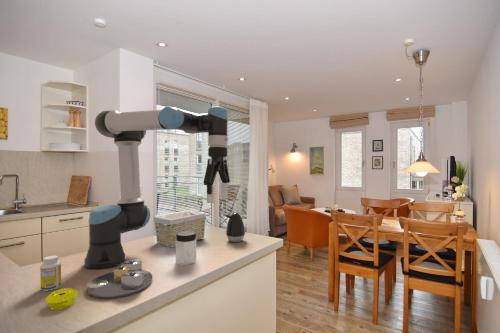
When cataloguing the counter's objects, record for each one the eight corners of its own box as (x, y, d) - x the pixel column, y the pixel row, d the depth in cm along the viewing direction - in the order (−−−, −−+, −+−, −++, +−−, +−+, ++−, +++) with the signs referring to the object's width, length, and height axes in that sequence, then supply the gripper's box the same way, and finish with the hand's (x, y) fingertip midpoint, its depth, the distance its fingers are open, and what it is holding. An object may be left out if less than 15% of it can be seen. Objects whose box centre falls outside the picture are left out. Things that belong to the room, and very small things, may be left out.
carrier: (72, 292, 87) (72, 273, 87) (122, 270, 106) (122, 253, 106) (120, 303, 80) (120, 282, 80) (164, 277, 99) (164, 260, 99)
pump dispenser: (223, 239, 150) (223, 211, 150) (242, 237, 153) (242, 210, 153) (228, 244, 140) (228, 214, 140) (247, 242, 143) (247, 213, 143)
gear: (70, 295, 85) (40, 306, 79) (70, 283, 85) (40, 293, 79) (83, 302, 81) (52, 314, 74) (83, 290, 81) (52, 301, 74)
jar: (179, 266, 109) (179, 236, 109) (172, 260, 116) (172, 232, 116) (199, 262, 114) (199, 233, 114) (192, 256, 121) (192, 229, 121)
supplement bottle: (54, 283, 94) (53, 253, 94) (65, 285, 92) (64, 255, 92) (36, 290, 89) (36, 259, 89) (47, 293, 87) (47, 261, 87)
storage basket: (170, 249, 132) (170, 219, 132) (152, 243, 143) (152, 215, 143) (207, 239, 151) (207, 212, 151) (189, 234, 161) (189, 209, 161)
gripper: (213, 144, 94) (213, 205, 94) (237, 148, 118) (237, 197, 118) (194, 144, 96) (193, 204, 96) (221, 148, 120) (221, 196, 120)
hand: (217, 200), depth 107 cm, fingers open, 13 cm apart
